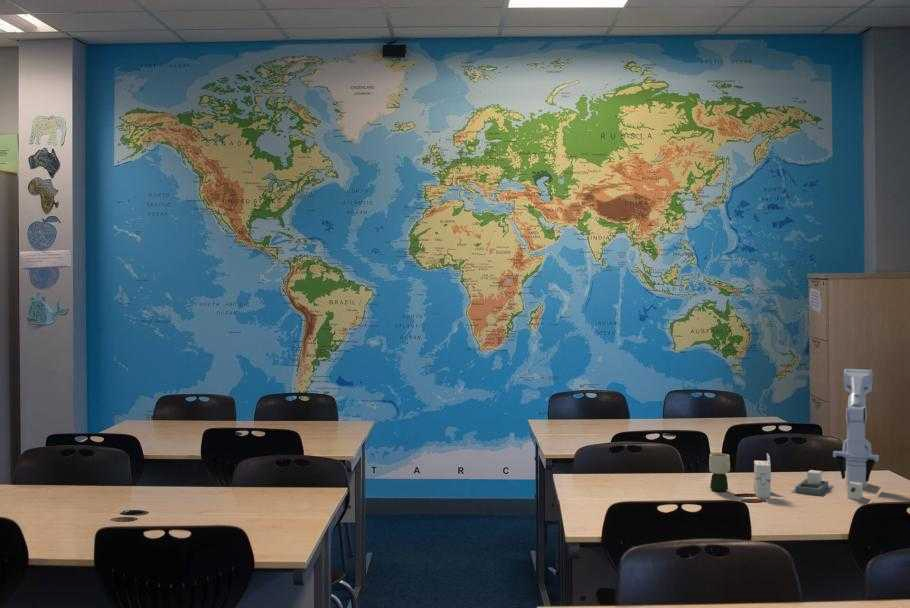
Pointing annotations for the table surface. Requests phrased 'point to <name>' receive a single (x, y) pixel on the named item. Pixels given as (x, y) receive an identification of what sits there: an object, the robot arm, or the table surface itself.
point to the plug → (855, 490)
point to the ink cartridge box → (762, 478)
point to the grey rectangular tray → (812, 488)
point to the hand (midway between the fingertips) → (855, 479)
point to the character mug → (719, 470)
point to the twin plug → (814, 477)
